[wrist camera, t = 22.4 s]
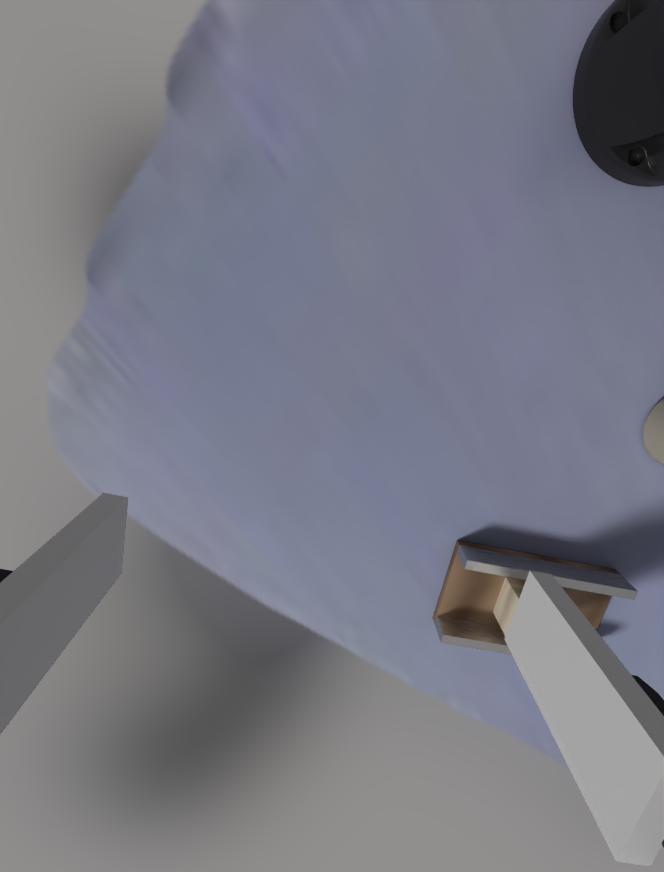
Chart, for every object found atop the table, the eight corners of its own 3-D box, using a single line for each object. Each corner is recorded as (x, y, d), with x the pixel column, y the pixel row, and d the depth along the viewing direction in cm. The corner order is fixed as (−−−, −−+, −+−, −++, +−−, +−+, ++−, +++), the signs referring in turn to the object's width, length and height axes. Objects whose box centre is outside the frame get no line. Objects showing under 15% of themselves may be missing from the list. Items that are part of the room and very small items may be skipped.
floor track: (432, 617, 53) (440, 642, 49) (457, 540, 50) (467, 560, 46) (583, 643, 54) (602, 670, 50) (615, 569, 51) (638, 591, 48)
